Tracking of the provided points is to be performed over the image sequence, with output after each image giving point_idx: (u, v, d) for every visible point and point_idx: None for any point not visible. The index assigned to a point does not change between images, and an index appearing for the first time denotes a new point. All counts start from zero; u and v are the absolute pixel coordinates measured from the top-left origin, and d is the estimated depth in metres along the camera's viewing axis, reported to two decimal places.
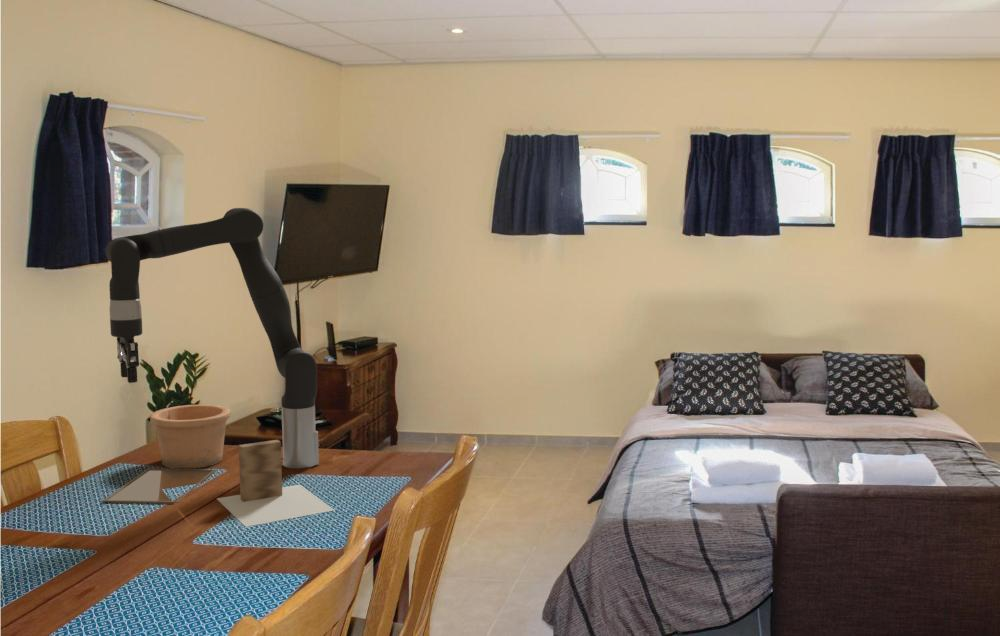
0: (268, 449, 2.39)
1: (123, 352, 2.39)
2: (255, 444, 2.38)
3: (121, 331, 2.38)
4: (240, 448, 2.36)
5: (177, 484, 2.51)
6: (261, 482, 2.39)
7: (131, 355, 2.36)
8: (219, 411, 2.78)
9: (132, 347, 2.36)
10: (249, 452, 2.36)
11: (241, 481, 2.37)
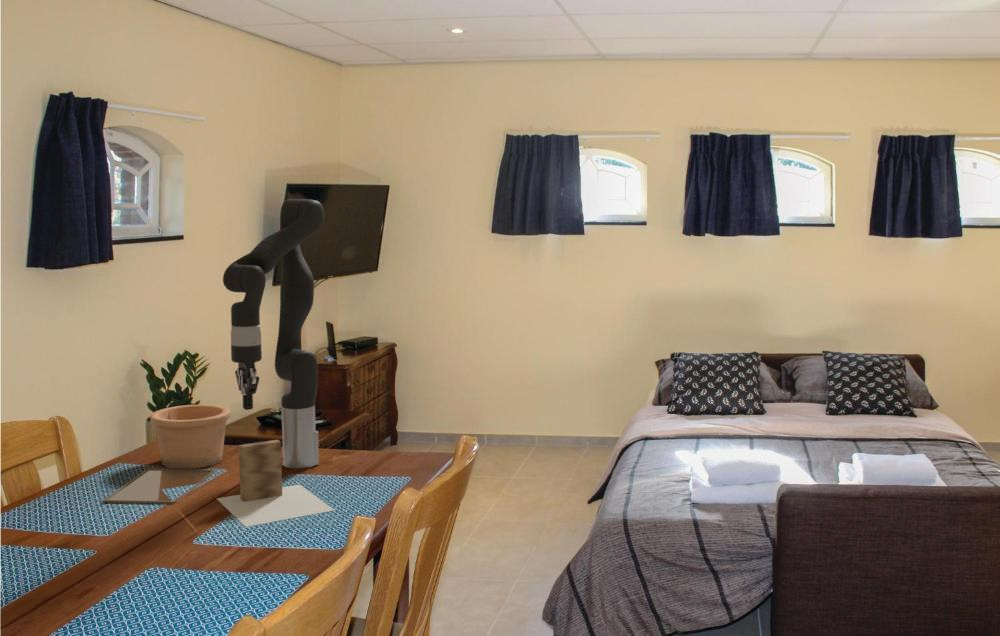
0: (268, 449, 2.39)
1: (243, 380, 2.42)
2: (255, 444, 2.38)
3: (243, 357, 2.40)
4: (240, 448, 2.36)
5: (177, 484, 2.51)
6: (261, 482, 2.39)
7: (251, 387, 2.41)
8: (219, 411, 2.78)
9: (253, 382, 2.39)
10: (249, 452, 2.36)
11: (241, 481, 2.37)
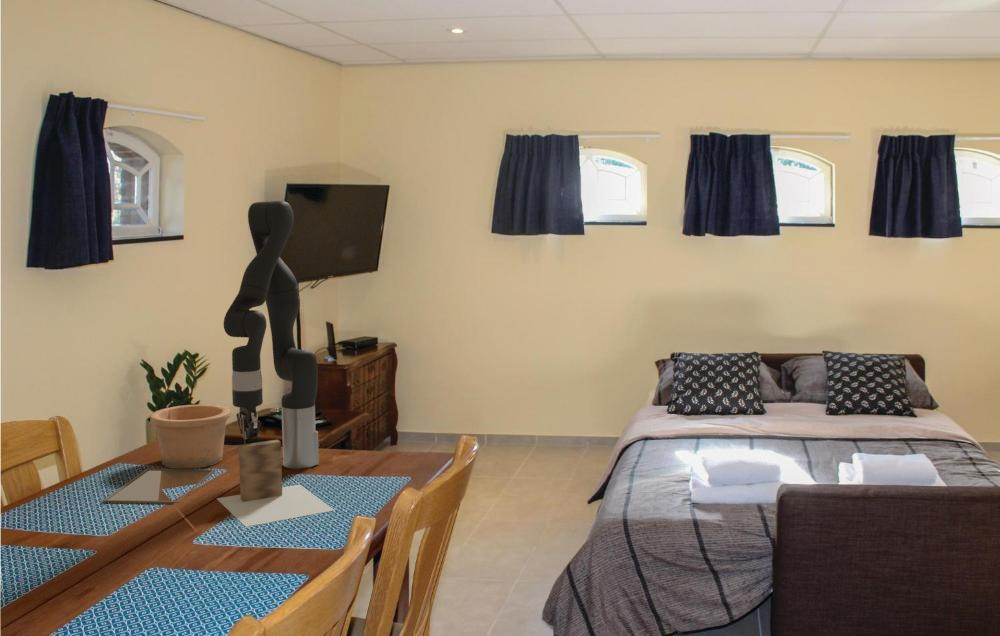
0: (268, 449, 2.39)
1: (244, 424, 2.43)
2: (255, 444, 2.38)
3: (244, 402, 2.41)
4: (240, 448, 2.36)
5: (177, 484, 2.51)
6: (261, 482, 2.39)
7: (252, 432, 2.42)
8: (219, 411, 2.78)
9: (255, 426, 2.41)
10: (249, 452, 2.36)
11: (241, 481, 2.37)
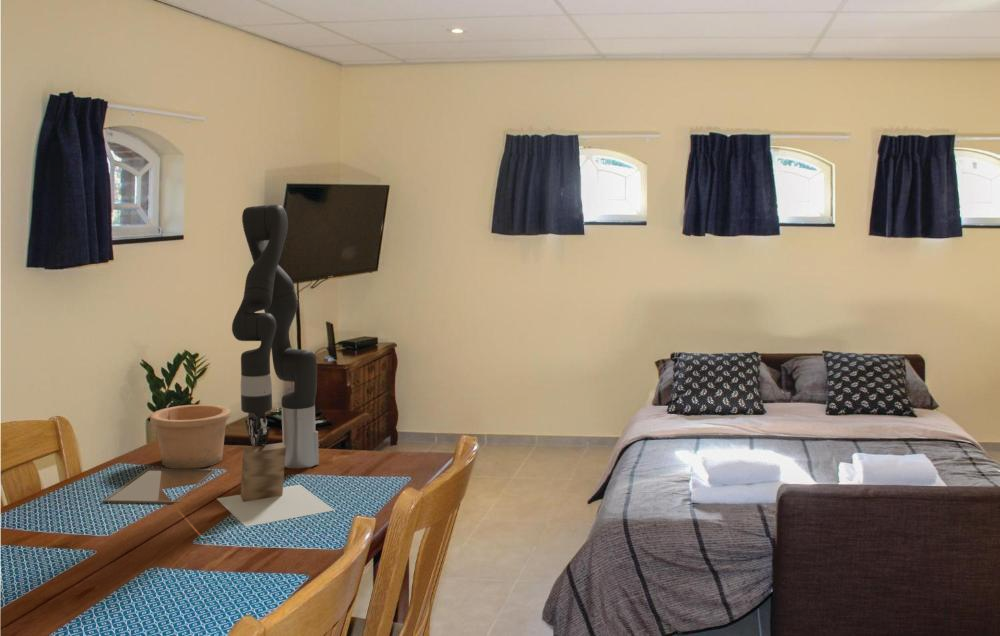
0: (273, 454, 2.36)
1: (253, 430, 2.36)
2: (260, 449, 2.34)
3: (253, 408, 2.34)
4: (245, 452, 2.33)
5: (177, 484, 2.51)
6: (262, 484, 2.38)
7: (261, 438, 2.35)
8: (219, 411, 2.78)
9: (264, 433, 2.34)
10: (253, 457, 2.33)
11: (243, 482, 2.36)
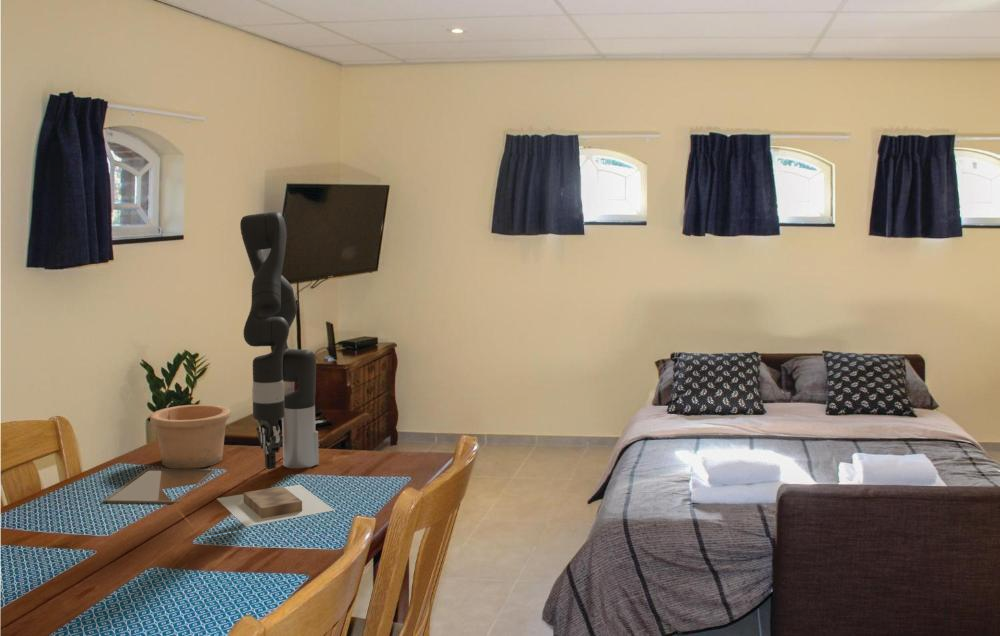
0: None
1: (265, 438, 2.29)
2: (277, 512, 2.27)
3: (266, 415, 2.27)
4: (261, 513, 2.25)
5: (177, 484, 2.51)
6: None
7: (274, 446, 2.27)
8: (219, 411, 2.78)
9: (277, 441, 2.26)
10: None
11: (249, 503, 2.32)
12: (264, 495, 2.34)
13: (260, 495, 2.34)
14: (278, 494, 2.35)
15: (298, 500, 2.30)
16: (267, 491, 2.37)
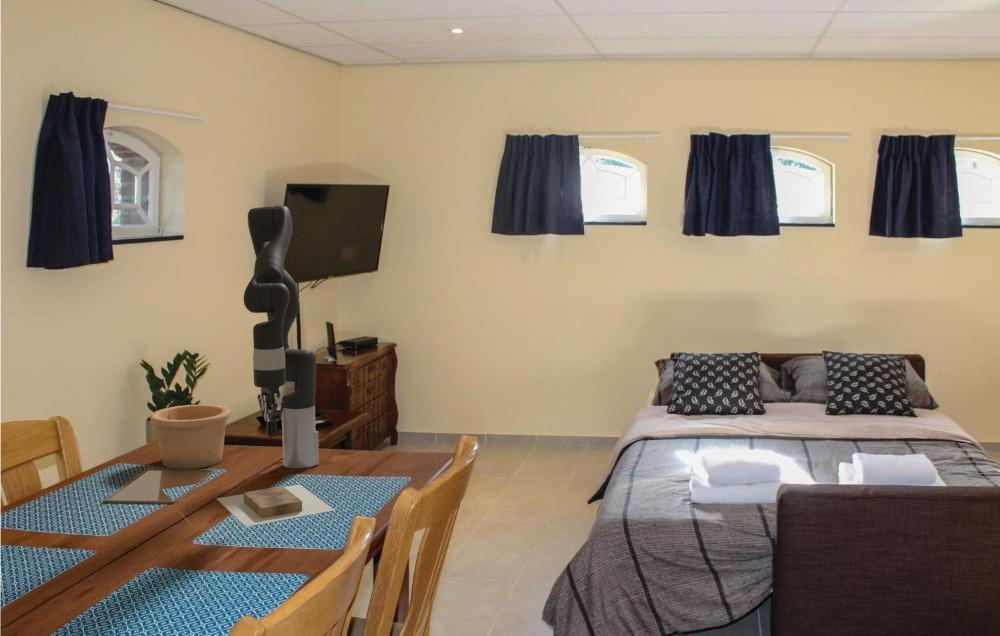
0: None
1: (266, 406, 2.27)
2: (277, 512, 2.27)
3: (267, 382, 2.25)
4: (261, 513, 2.25)
5: (177, 484, 2.51)
6: None
7: (275, 414, 2.26)
8: (219, 411, 2.78)
9: (278, 408, 2.25)
10: None
11: (249, 503, 2.32)
12: (264, 495, 2.34)
13: (260, 495, 2.34)
14: (278, 494, 2.35)
15: (298, 500, 2.30)
16: (267, 491, 2.37)
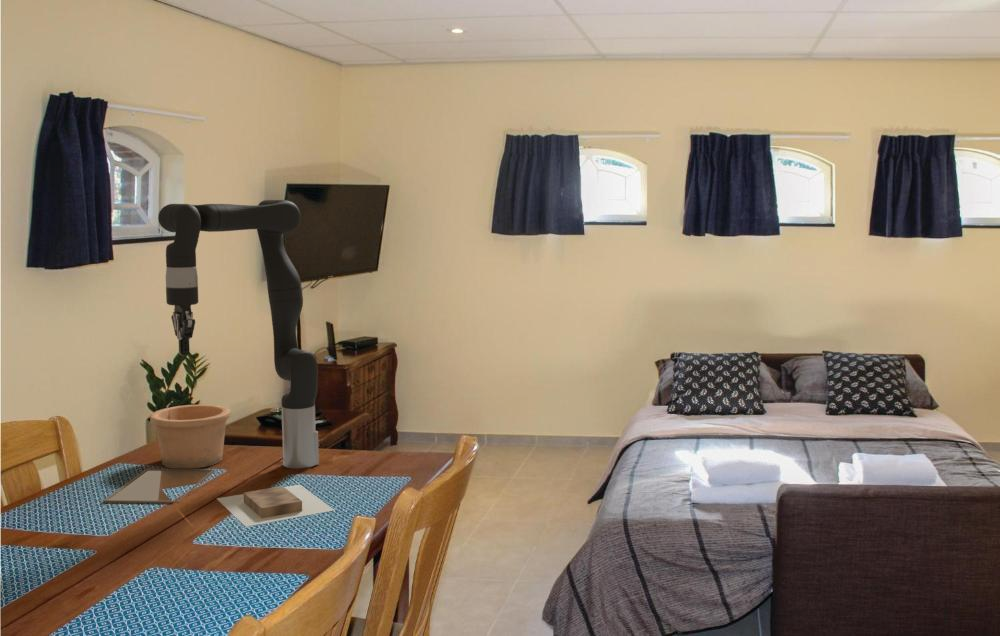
0: None
1: (178, 324, 2.33)
2: (277, 512, 2.27)
3: (178, 299, 2.31)
4: (261, 513, 2.25)
5: (177, 484, 2.51)
6: None
7: (187, 331, 2.32)
8: (219, 411, 2.78)
9: (189, 325, 2.31)
10: None
11: (249, 503, 2.32)
12: (264, 495, 2.34)
13: (260, 495, 2.34)
14: (278, 494, 2.35)
15: (298, 500, 2.30)
16: (267, 491, 2.37)
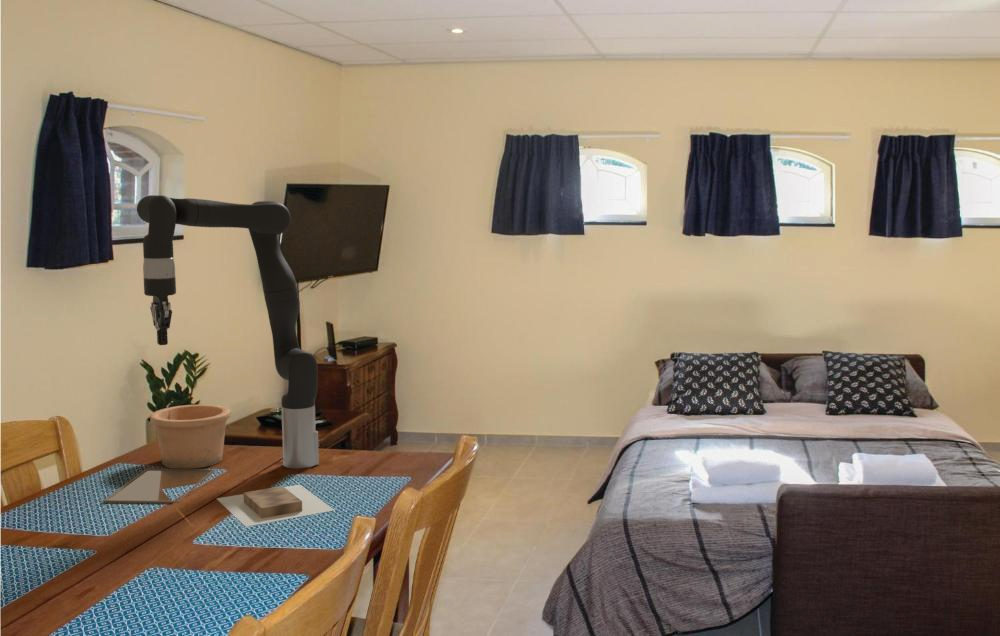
0: None
1: (156, 314, 2.36)
2: (277, 512, 2.27)
3: (155, 290, 2.33)
4: (261, 513, 2.25)
5: (177, 484, 2.51)
6: None
7: (164, 321, 2.34)
8: (219, 411, 2.78)
9: (166, 315, 2.33)
10: None
11: (249, 503, 2.32)
12: (264, 495, 2.34)
13: (260, 495, 2.34)
14: (278, 494, 2.35)
15: (298, 500, 2.30)
16: (267, 491, 2.37)
